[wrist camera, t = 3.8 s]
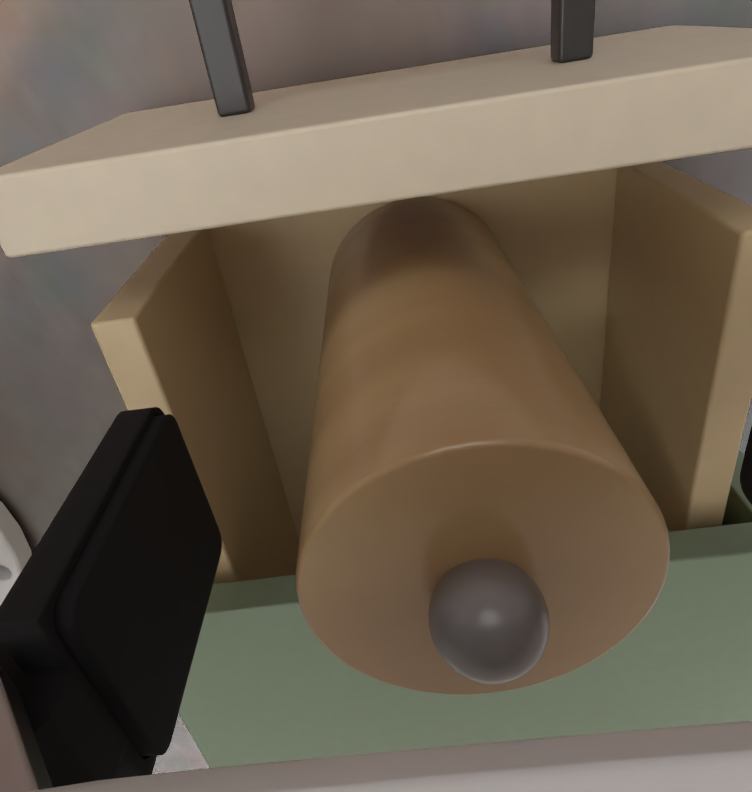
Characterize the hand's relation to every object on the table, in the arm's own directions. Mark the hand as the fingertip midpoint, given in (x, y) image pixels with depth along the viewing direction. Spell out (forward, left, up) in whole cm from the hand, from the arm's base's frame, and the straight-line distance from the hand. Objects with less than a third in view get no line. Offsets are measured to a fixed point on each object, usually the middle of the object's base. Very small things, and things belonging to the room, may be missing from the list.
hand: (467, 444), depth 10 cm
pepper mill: (0, 0, -7) cm, 7 cm away
